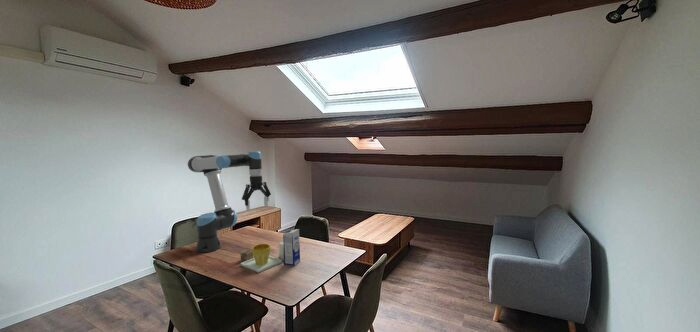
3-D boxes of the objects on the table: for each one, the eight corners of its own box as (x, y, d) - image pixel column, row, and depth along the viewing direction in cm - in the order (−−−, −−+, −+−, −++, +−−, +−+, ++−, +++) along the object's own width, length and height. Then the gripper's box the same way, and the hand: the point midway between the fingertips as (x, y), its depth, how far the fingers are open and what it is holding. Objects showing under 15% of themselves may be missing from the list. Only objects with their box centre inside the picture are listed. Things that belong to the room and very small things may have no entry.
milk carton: (294, 266, 166) (292, 232, 164) (283, 264, 168) (282, 231, 166) (300, 261, 172) (299, 228, 171) (290, 260, 175) (289, 227, 173)
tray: (240, 265, 168) (240, 263, 168) (264, 256, 181) (264, 253, 181) (258, 272, 158) (258, 270, 158) (282, 262, 172) (282, 259, 171)
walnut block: (240, 260, 175) (240, 252, 175) (246, 257, 180) (246, 249, 180) (247, 261, 174) (247, 253, 173) (253, 258, 178) (252, 250, 178)
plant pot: (265, 267, 164) (265, 250, 163) (249, 266, 166) (248, 249, 165) (274, 259, 174) (273, 244, 173) (258, 258, 176) (257, 243, 175)
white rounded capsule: (276, 258, 178) (275, 243, 177) (285, 254, 184) (284, 240, 183) (284, 260, 174) (283, 246, 173) (292, 256, 179) (292, 242, 179)
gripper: (241, 178, 172) (243, 213, 174) (275, 173, 192) (276, 205, 194) (234, 177, 177) (236, 211, 178) (268, 173, 197) (269, 204, 198)
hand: (257, 208), depth 186 cm, fingers open, 13 cm apart
